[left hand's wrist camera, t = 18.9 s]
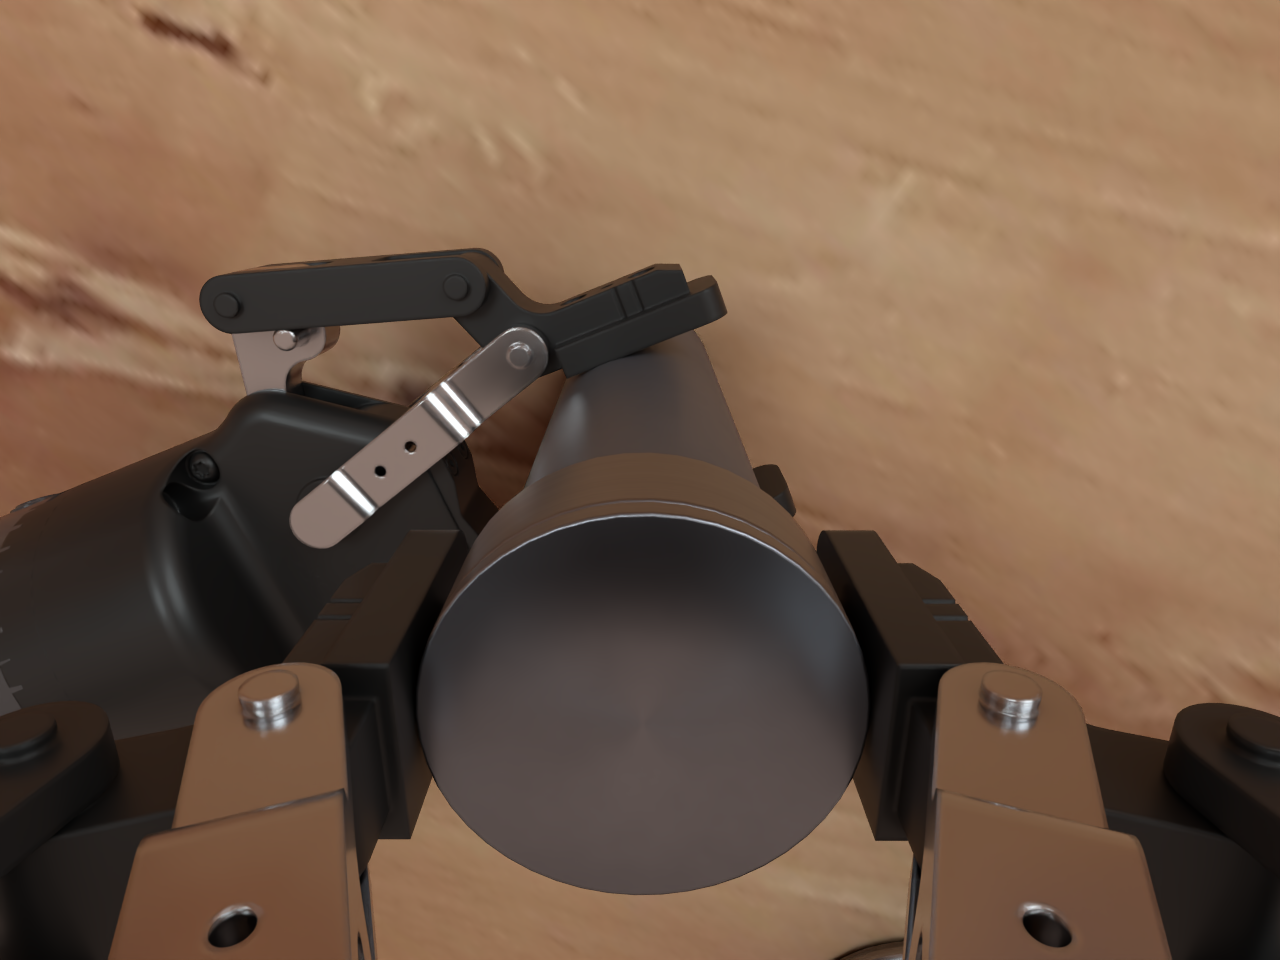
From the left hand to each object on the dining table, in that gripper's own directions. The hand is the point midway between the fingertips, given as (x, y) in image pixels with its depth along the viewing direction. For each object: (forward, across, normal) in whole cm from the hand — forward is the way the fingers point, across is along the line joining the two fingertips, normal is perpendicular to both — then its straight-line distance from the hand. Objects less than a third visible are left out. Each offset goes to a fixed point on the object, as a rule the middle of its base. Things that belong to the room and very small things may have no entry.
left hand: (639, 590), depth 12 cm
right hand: (+8, -2, -1) cm, 8 cm away
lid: (-3, 0, 0) cm, 3 cm away
